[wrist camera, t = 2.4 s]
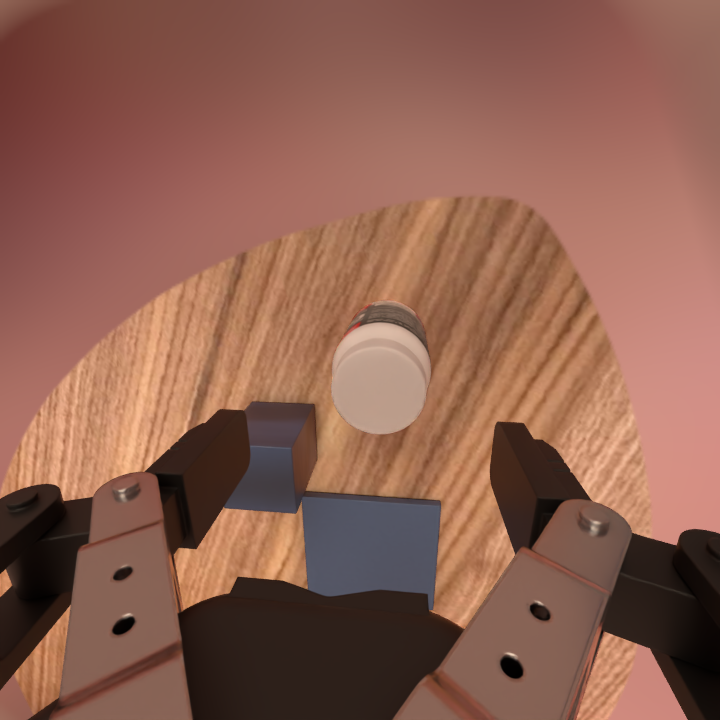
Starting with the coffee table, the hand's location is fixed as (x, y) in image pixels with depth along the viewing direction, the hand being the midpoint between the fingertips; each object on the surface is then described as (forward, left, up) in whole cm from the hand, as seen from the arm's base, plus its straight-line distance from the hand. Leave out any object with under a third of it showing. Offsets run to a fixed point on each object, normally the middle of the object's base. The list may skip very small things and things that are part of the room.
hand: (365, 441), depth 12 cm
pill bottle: (0, 0, -12) cm, 12 cm away
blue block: (+7, -7, -12) cm, 16 cm away
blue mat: (+17, -1, -12) cm, 21 cm away
